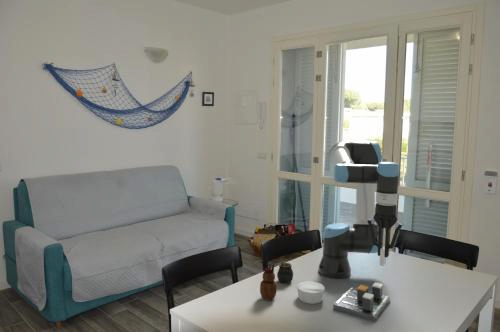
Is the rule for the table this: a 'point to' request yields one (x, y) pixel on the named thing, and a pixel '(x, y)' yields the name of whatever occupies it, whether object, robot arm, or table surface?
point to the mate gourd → (285, 272)
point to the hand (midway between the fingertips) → (382, 264)
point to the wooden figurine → (268, 284)
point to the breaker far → (377, 290)
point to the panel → (360, 305)
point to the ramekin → (310, 292)
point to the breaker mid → (361, 292)
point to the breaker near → (367, 301)
